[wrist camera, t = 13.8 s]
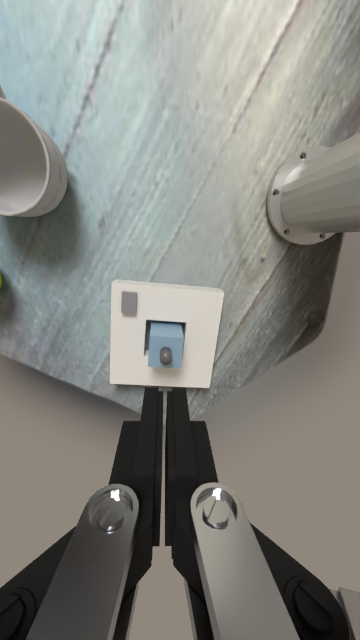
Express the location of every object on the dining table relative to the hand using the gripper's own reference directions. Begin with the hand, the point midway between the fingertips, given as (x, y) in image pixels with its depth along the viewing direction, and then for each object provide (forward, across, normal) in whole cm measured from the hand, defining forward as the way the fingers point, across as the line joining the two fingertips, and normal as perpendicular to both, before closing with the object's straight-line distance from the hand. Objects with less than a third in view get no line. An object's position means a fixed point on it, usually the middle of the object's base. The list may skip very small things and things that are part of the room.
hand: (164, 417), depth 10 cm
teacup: (+29, +18, -15) cm, 38 cm away
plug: (+29, 0, +8) cm, 30 cm away
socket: (+29, 0, +8) cm, 30 cm away
